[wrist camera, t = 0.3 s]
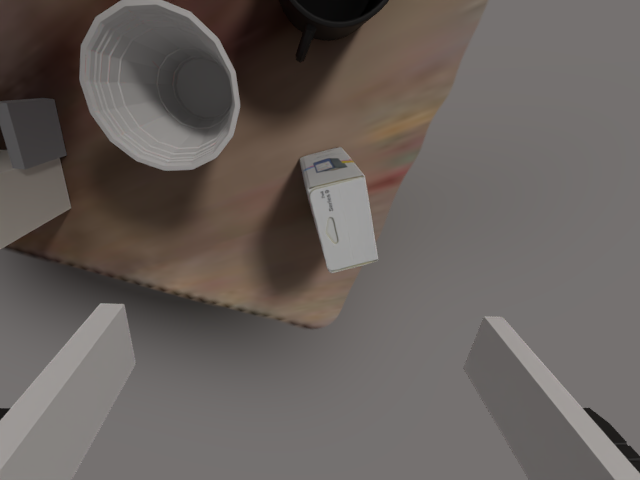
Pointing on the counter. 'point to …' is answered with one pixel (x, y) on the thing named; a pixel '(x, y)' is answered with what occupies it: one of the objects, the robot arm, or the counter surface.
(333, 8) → the mug
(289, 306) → the counter surface
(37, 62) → the counter surface
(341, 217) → the ink box
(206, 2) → the counter surface
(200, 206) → the counter surface
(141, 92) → the plastic cup
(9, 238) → the grey forked bracket
